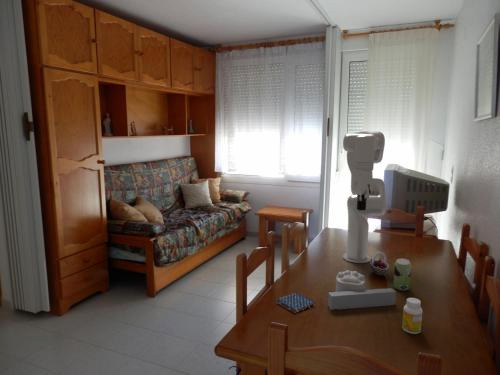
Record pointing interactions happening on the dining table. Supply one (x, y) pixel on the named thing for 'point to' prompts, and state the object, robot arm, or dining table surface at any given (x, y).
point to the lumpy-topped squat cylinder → (349, 281)
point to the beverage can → (402, 274)
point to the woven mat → (295, 302)
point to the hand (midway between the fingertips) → (361, 209)
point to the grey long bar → (361, 298)
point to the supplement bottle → (412, 316)
